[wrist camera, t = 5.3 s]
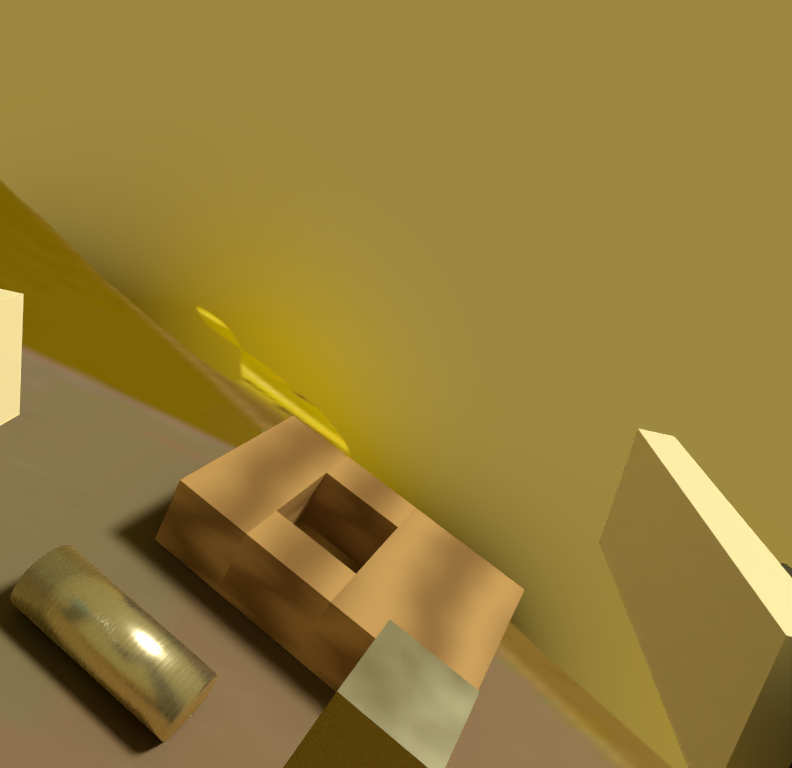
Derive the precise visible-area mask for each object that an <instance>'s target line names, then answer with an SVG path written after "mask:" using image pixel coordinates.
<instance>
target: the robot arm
mask: <svg viewBox="0 0 792 768" xmlns="http://www.w3.org/2000/svg"><path fill="white" fill-rule="evenodd" d="M22 322H23V294H21V293H17V292H12V291H8V290H3V289H0V425H2V424H4V423H5V422H7V421H9V420H11V419H12V418H14V417H16V416H18V415H19V409H20V380H21V351H22ZM599 543H600V546H601V548H602V551H603V553H604V556H605V558H606V561H607V563H608V566H609V569H610V571H611V574H612V576H613V579H614V581H615V584H616V586H617V589H618V591H619V594H620V596H621V599H622V602H623V604H624V607H625V609H626V612H627V614H628V617H629V619H630V622H631V624H632V627H633V629H634V632H635V634H636V637H637V639H638V642H639V644H640V647H641V650H642V652H643V654H644V657H645V660H646V662H647V665H648V667H649V670H650V672H651V675H652V677H653V680H654V682H655V685H656V688H657V690H658V693H659V695H660V698H661V700H662V703H663V705H664V708H665V710H666V713H667V715H668V718H669V720H670V723H671V726H672V728H673V731H674V733H675V736H676V738H677V741H678V743H679V746H680V748H681V751H682V753H683V756H684V758H685V761H686V763H687V766H688V768H792V568H790V567H789V566H787V565H786V564H782V563H779V562H778V561H777V560H776V558H775V557H774V556H773V555H772V554H771V553H770V551H769V550H768V549H767V547H766V546H765V545H764V544H763V543H762V542H761V540H760V539H759V538H758V537H757V536H756V534H755V533H754V532H753V531H752V529H751V528H750V527H749V526H748V525H747V524H746V522H745V521H744V520H743V519H742V518H741V516H740V515H739V514H738V513H737V511H736V510H735V509H734V508H733V507H732V505H731V504H730V503H729V502H728V501H727V499H726V498H725V497H724V496H723V495H722V493H721V492H720V491H719V490H718V489H717V487H715V485H714V484H713V482H712V481H711V480H710V479H709V478H708V476H707V475H706V474H705V473H704V472H703V470H702V469H701V468H700V467H699V466H698V465H697V463H696V462H695V461H694V460H693V458H692V457H691V456H690V455H689V454H688V452H687V451H686V450H685V449H684V448H683V447H682V445H681V444H680V443H679V442H678V440H677V439H676V438H675V437H674V436H670V435H665V434H660V433H656V432H652V431H646V430H642V429H638V430H637V433H636V436H635V439H634V442H633V445H632V448H631V451H630V454H629V457H628V460H627V462H626V466H625V468H624V471H623V474H622V477H621V480H620V483H619V486H618V489H617V492H616V495H615V498H614V501H613V504H612V507H611V510H610V513H609V516H608V519H607V521H606V525H605V527H604V530H603V533H602V536H601V539H600V542H599Z"/></svg>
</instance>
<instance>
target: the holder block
mask: <svg viewBox="0 0 792 768" xmlns="http://www.w3.org/2000/svg"><path fill="white" fill-rule="evenodd" d="M155 540H156V541H157V542H158V543H159V544H161V545H162V546H163V547H164V548H165V549H167V550H168V551H169V552H170V553H171V554H172V555H174V556H175V557H176V558H177V559H178V560H180V561H181V562H182V563H183V564H184V565H186V566H187V567H188V568H189V569H190V570H191V571H193V572H194V573H195V574H196V575H197V576H199V577H200V578H201V579H202V580H203V581H205V582H206V583H207V584H208V585H209V586H210V587H212V588H213V589H214V590H215V591H216V592H218V593H219V594H220V595H221V596H222V597H224V598H225V599H226V600H227V601H228V602H229V603H231V604H232V605H233V606H234V607H235V608H237V609H238V610H239V611H240V612H241V613H242V614H244V615H245V616H246V617H247V618H248V619H250V620H251V621H252V622H253V623H254V624H256V625H257V626H258V627H259V628H260V629H261V630H263V631H264V632H265V633H266V634H267V635H269V636H270V637H271V638H272V639H273V640H275V641H276V642H277V643H278V644H279V645H280V646H282V647H283V648H284V649H285V650H286V651H288V652H289V653H290V654H291V655H292V656H294V657H295V658H296V659H297V660H298V661H299V662H301V663H302V664H303V665H304V666H305V667H307V668H308V669H309V670H310V671H311V672H313V673H314V674H315V675H316V676H317V677H318V678H320V679H321V680H322V681H323V682H324V683H326V684H327V685H328V686H329V687H330V688H331V689H333V690H334V691H335V692H337V691H338V689H339V688H340V687H341V685H342V684H343V682H344V681H345V680H346V678H347V677H348V676H349V674H350V673H351V672H352V670H353V669H354V667H355V666H356V665H357V663H358V662H359V661H360V659H361V658H362V657H363V655H364V654H365V652H366V651H367V650H368V648H369V647H370V646H371V644H372V643H373V641H374V640H375V639H376V637H377V636H378V635H379V633H380V632H381V631H382V629H383V628H384V626H385V625H386V624H387V622H388V621H389V620H391V621H392V622H394V623H395V624H396V625H397V626H399V627H400V628H401V629H402V630H404V631H405V632H406V633H407V634H409V635H410V636H411V637H412V638H414V639H415V640H416V641H417V642H419V643H420V644H421V645H422V646H424V647H425V648H426V649H427V650H429V651H430V652H431V653H432V654H434V655H435V656H436V657H437V658H439V659H440V660H441V661H442V662H444V663H445V664H446V665H447V666H449V667H450V668H451V669H452V670H454V671H455V672H456V673H457V674H459V675H460V676H461V677H462V678H464V679H465V680H466V681H467V682H469V683H470V684H471V685H472V686H474V687H475V688H476V689H477V690H478V689H479V687H480V685H481V683H482V680H483V678H484V676H485V674H486V672H487V670H488V667H489V665H490V663H491V661H492V659H493V657H494V654H495V652H496V650H497V648H498V646H499V644H500V641H501V639H502V637H503V635H504V633H505V631H506V628H507V626H508V624H509V622H510V620H511V617H512V615H513V613H514V611H515V608H516V607H517V604H518V602H519V600H520V598H521V596H522V594H523V591H524V589H523V588H521V587H520V586H518V585H517V584H516V583H515V582H513V581H512V580H511V579H509V578H508V577H507V576H505V575H504V574H503V573H501V572H500V571H499V570H497V569H496V568H495V567H493V566H492V565H491V564H490V563H488V562H487V561H486V560H484V559H483V558H482V557H480V556H479V555H478V554H476V553H475V552H474V551H472V550H471V549H469V548H468V547H467V546H466V545H464V544H463V543H461V542H460V541H459V540H458V539H456V538H455V537H453V536H452V535H451V534H450V533H448V532H447V531H446V530H444V529H443V528H442V527H440V526H439V525H438V524H436V523H435V522H434V521H432V520H431V519H429V518H428V517H427V516H426V515H424V514H423V513H422V512H420V511H419V510H418V509H416V508H415V507H414V506H412V505H411V504H410V503H408V502H407V501H406V500H405V499H403V498H402V497H400V496H399V495H398V494H396V493H395V492H394V491H392V490H391V489H390V488H389V487H387V486H386V485H385V484H383V483H382V482H381V481H379V480H378V479H376V478H375V477H374V476H373V475H371V474H370V473H369V472H367V471H366V470H365V469H363V468H362V467H361V466H359V465H358V464H357V463H355V462H354V461H353V460H351V459H350V458H349V457H347V456H346V455H345V454H343V453H342V452H341V451H339V450H338V449H337V448H335V447H334V446H333V445H331V444H330V443H329V442H327V441H326V440H325V439H324V438H322V437H321V436H320V435H318V434H317V433H316V432H314V431H313V430H312V429H310V428H309V427H308V426H306V425H305V424H304V423H302V422H301V421H300V420H298V419H297V418H296V417H294V416H292V417H290V418H288V419H286V420H285V421H283V422H281V423H279V424H278V425H276V426H274V427H272V428H271V429H269V430H267V431H265V432H264V433H262V434H260V435H258V436H257V437H255V438H253V439H251V440H250V441H248V442H246V443H244V444H243V445H241V446H239V447H237V448H236V449H234V450H232V451H230V452H229V453H227V454H225V455H223V456H222V457H220V458H218V459H216V460H215V461H213V462H211V463H209V464H208V465H206V466H204V467H202V468H201V469H199V470H197V471H195V472H194V473H192V474H190V475H188V476H187V477H185V478H183V479H181V480H180V482H179V484H178V486H177V489H176V491H175V493H174V496H173V498H172V500H171V503H170V505H169V507H168V510H167V512H166V514H165V517H164V519H163V521H162V524H161V526H160V528H159V531H158V533H157V535H156V538H155Z"/></svg>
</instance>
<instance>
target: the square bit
mask: <svg viewBox="0 0 792 768" xmlns="http://www.w3.org/2000/svg"><path fill="white" fill-rule="evenodd" d="M479 692H480V691H479V690H477V689H476V688H475V687H474V686H472V685H471V684H470V683H469V682H467V681H466V680H465V679H464V678H462V677H461V676H460V675H459V674H457V673H456V672H455V671H454V670H452V669H451V668H450V667H449V666H447V665H446V664H445V663H444V662H442V661H441V660H440V659H439V658H437V657H436V656H435V655H434V654H432V653H431V652H430V651H429V650H427V649H426V648H425V647H424V646H422V645H421V644H420V643H419V642H417V641H416V640H415V639H414V638H412V637H411V636H410V635H409V634H407V633H406V632H405V631H404V630H402V629H401V628H400V627H399V626H397V625H396V624H395V623H394V622H392V621H391V620H389V621H388V622H387V624H386V625H385V626H384V628H383V629H382V631H381V632H380V633H379V635H378V636H377V637H376V639H375V640H374V641H373V643H372V644H371V646H370V647H369V648H368V650H367V651H366V652H365V654H364V655H363V657H362V658H361V659H360V661H359V662H358V663H357V665H356V666H355V667H354V669H353V670H352V672H351V673H350V674H349V676H348V677H347V678H346V680H345V681H344V682H343V684H342V685H341V687H340V688H339V689H338V691H337V692H336V693H335V695H334V696H333V698H332V699H331V701H330V702H329V703H328V705H327V706H326V708H325V709H324V711H323V712H322V713H321V715H320V716H319V718H318V719H317V720H316V722H315V723H314V725H313V726H312V728H311V729H310V730H309V732H308V733H307V735H306V736H305V738H304V739H303V740H302V742H301V743H300V745H299V746H298V747H297V749H296V750H295V752H294V753H293V755H292V756H291V757H290V759H289V760H288V762H287V763H286V765H285V766H284V767H283V768H445V766H446V764H447V762H448V760H449V758H450V755H451V753H452V751H453V749H454V747H455V745H456V742H457V740H458V738H459V736H460V734H461V731H462V729H463V727H464V725H465V723H466V720H467V718H468V716H469V714H470V712H471V709H472V707H473V705H474V703H475V701H476V698H477V696H478V694H479Z"/></svg>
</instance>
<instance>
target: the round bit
mask: <svg viewBox="0 0 792 768" xmlns="http://www.w3.org/2000/svg"><path fill="white" fill-rule="evenodd" d="M10 599H11V602H12V604H14V605H15V606H16V607H17V608H18V609H19V610H20V611H21V612H22V613H23V614H24V615H26V616H27V617H28V618H29V619H30V620H31V621H32V622H33V623H34V624H35V625H36V626H37V627H39V628H40V629H41V630H42V631H43V632H44V633H45V634H46V635H47V636H48V637H49V638H50V639H52V640H53V641H54V642H55V643H56V644H57V645H58V646H59V647H60V648H61V649H62V650H64V651H65V652H66V653H67V654H68V655H69V656H70V657H71V658H72V659H73V660H74V661H75V662H77V663H78V664H79V665H80V666H81V667H82V668H83V669H84V670H85V671H86V672H87V673H89V674H90V675H91V676H92V677H93V678H94V679H95V680H96V681H97V682H98V683H99V684H100V685H102V686H103V687H104V688H105V689H106V690H107V691H108V692H109V693H110V694H111V695H112V696H114V697H115V698H116V699H117V700H118V701H119V702H120V703H121V704H122V705H123V706H124V707H125V708H127V709H128V710H129V711H130V712H131V713H132V714H133V715H134V716H135V717H136V718H137V719H139V720H140V721H141V722H142V723H143V724H144V725H145V726H146V727H147V728H148V729H149V730H150V731H152V732H153V733H154V734H155V735H156V736H157V737H158V738H159V739H160V740H161V741H162V742H164V741H166V740H167V739H169V738H170V737H171V736H172V735H173V734H174V733H175V732H176V731H177V730H178V729H179V728H180V727H181V726H182V724H183V723H184V722H185V721H186V720H187V719H188V718H189V717H190V716H191V715H192V714H193V713H194V712H195V710H196V709H197V708H198V707H199V705H200V704H201V703H202V702H203V700H204V699H205V698H206V696H207V695H208V693H209V692H210V691H211V689H212V687H213V686H214V684H215V683H216V681H217V679H218V674H217V673H216V672H215V671H214V670H213V669H211V668H210V667H209V666H208V665H207V664H206V663H205V662H203V661H202V660H201V659H200V658H199V657H198V656H197V655H195V654H194V653H193V652H192V651H191V650H190V649H189V648H187V647H186V646H185V645H184V644H183V643H182V642H181V641H179V640H178V639H177V638H176V637H175V636H174V635H173V634H171V633H170V632H169V631H168V630H167V629H166V628H165V627H163V626H162V625H161V624H160V623H159V622H158V621H156V620H155V619H154V618H153V617H152V616H151V615H150V614H148V613H147V612H146V611H145V610H144V609H143V608H142V607H140V606H139V605H138V604H137V603H136V602H135V601H134V600H132V599H131V598H130V597H129V596H128V595H127V594H126V593H124V592H123V591H122V590H121V589H120V588H119V587H118V586H116V585H115V584H114V583H113V582H112V581H111V580H110V579H108V578H107V577H106V576H105V575H104V574H103V573H102V572H100V571H99V570H98V569H97V568H96V567H95V566H94V565H92V564H91V563H90V562H89V561H88V560H87V559H86V558H84V557H83V556H82V555H81V554H80V553H79V552H78V551H76V550H75V549H74V548H73V547H72V546H70V545H64V546H61V547H58V548H56V549H54V550H52V551H50V552H49V553H47V554H45V555H44V556H43V557H41V558H40V559H39V560H38V561H36V562H35V563H34V564H33V565H32V566H31V567H30V568H29V569H28V570H27V571H26V572H25V573H24V574H23V575H22V577H21V578H20V579H19V581H18V582H17V584H16V585H15V587H14V589H13V591H12V593H11V598H10Z"/></svg>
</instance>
